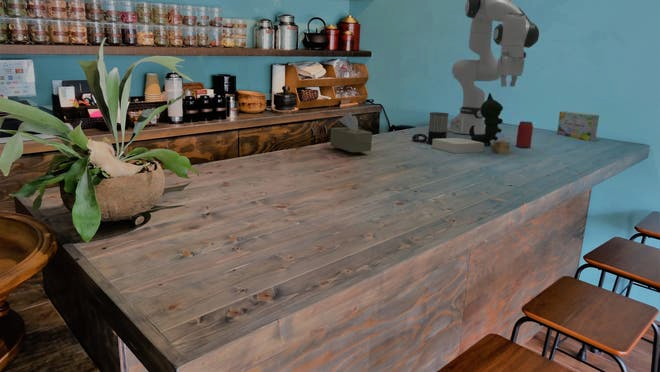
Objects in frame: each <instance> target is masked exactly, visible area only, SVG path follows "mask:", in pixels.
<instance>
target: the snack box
mask: <svg viewBox="0 0 660 372" xmlns="http://www.w3.org/2000/svg"><path fill="white" fill-rule="evenodd" d="M599 117H600V115H598V114H592V113H584V112H574V111H567V110H561V111H559V116H558V125H557V131H556V135H558V136H563V137H568V138H572V139H577V140H582V141H586V142H596V138H597V133H598V125H599Z"/></svg>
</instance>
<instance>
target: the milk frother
mask: <svg viewBox="0 0 660 372" xmlns="http://www.w3.org/2000/svg"><path fill="white" fill-rule="evenodd" d="M449 115H450V114H449V113H448V112H441V111H440V112H437V111H434V112H433V111H432V112H429V122H428V135H426V134H424V133H416V134H414V135H412V137H411V139H412V141H414V142H417V143H423V142H426V144H428V145H432V142H433V139H444V138H447V133H448V131H447V128H448V122H449ZM419 137H423V139H419Z"/></svg>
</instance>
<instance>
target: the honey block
mask: <svg viewBox="0 0 660 372" xmlns="http://www.w3.org/2000/svg"><path fill="white" fill-rule="evenodd" d="M510 145H511V142H509V141H504V140H496V141H495V140H492V148H491V153H494V154H498V155H507V154H510Z"/></svg>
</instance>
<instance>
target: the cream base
mask: <svg viewBox="0 0 660 372" xmlns="http://www.w3.org/2000/svg"><path fill="white" fill-rule="evenodd" d="M431 148H432V149H437V150H440V151H444V152H448V153H452V154H467V153H469V154H470V153H484V151H485V150H484V149H485V146H484V143H482V142H477V141H473V140H471V139H468V138H462V137H455V138H454V137H451V138H450V137H449V138H448V137H446V138H444V139H433V142H432V144H431Z"/></svg>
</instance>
